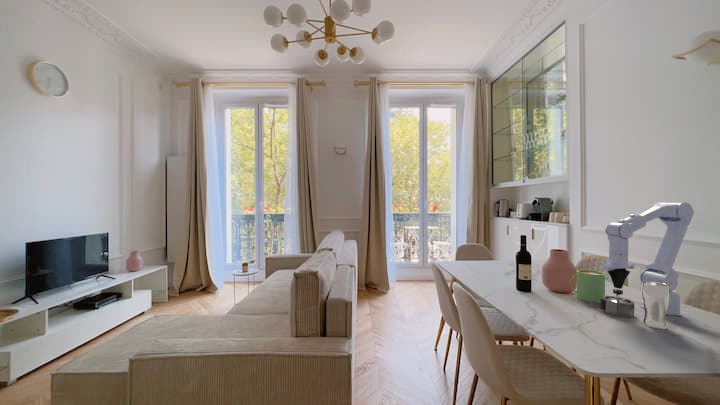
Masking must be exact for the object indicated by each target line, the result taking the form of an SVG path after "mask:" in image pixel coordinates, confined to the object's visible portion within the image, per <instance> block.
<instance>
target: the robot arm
mask: <svg viewBox="0 0 720 405" xmlns="http://www.w3.org/2000/svg"><path fill="white" fill-rule="evenodd" d="M694 214H695V211H694V209H693V207H692V205H691V204H690V203H689V202H684V201H683V202H663V201H659V202H657V203H655V204H653V205H652V207H651V208H649V209H647V210H645V211H643V212H642V213H640V214H636V213H635V214H633V213H631V214H628V216H627V217H625V218H623V219H622V218H621V219H620V220H618V221H617V222H611V223H609V224H607V225H606V228H605V229H604V231H605V234H606V236H607V240H608V242H609V245H608V246H609V247H608V250H609V252H608V262H606V263H605V264H602V265H601V271H605V272H607V273H608V275H609V276H610V278H611V281H612V286H613V287H614V289H619V290H621V289H623V287H624V284H625V282H626V279H627V278H628V276H629V275H630V272H631V271H630V270H634V269H635V267H636V266H635V263H631V262H629V239H630V238H631V237H632V236H633V234H634V233H635V232H637V231H638V230H640V229H643V228H645V227H646V226H647V223H648V222H651V221H653V220H656V219H659V220H660V222H661V223H663V224H664V225H666V227H667V228H666V231H665V234H664V236H663V238H662V241H661V244H660V246H659V249H658V251H657V254H656V256H655V259H654V262H652V263H649V264H647V265H646V266H645V267H644V269H643V271H641V273H640V274H639V280H640V282H641V283H642V284H643V282H644V281H652V282H659V283H664V284H667V285H668V288H669V303H668V308H667V311H666V315H670V316H678V317H679V316H680V317H681V316H682V314H681V296H680V294H679V292H678V291H677V290H675V289H676V288H677V287H678V277H679V274H678V272H676V270H675V269H674V268H673V267H674V264H675V262H676V259H677V257H678V254H679V252H680V249H681V246H682V243H683V241H684V238H685V237H686V233H687V230H688V228H689V226H690V224H691V221H692V218H693V217H694ZM629 269H630V270H629ZM639 306H640V307H641V308H642V309H644V306H643V304H640V305H639Z"/></svg>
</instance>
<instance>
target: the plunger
mask: <svg viewBox="0 0 720 405" xmlns="http://www.w3.org/2000/svg"><path fill="white" fill-rule="evenodd" d="M612 293H613V294H615V297H616V299H615V298H608V299H607V300H609V301H613V302H617V303H626V304H628V303H629V302H627V301H625V300H621V299H620V296H621V295H624V290H621V289H618V288H614V289H612Z"/></svg>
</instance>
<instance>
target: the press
mask: <svg viewBox="0 0 720 405" xmlns="http://www.w3.org/2000/svg"><path fill="white" fill-rule="evenodd" d="M608 298H615V299H616V296H614V295H613V296H612V295H605V297H602V299H600V303H599V308H600V309H601V311H602V312H604V313H605V314H607V315H610V316H614V317H617V318H628V319H630V318H632V317H635V302H634V301H633V300H631V299H629V298H625V297H620V299H621V300H625V301H627V302H629V303H628V304H626V303H617V302H613V301H609V300H607V299H608Z"/></svg>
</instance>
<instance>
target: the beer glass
mask: <svg viewBox="0 0 720 405" xmlns="http://www.w3.org/2000/svg"><path fill="white" fill-rule="evenodd" d="M641 301H642V305H643V306H644V308H643V311H644V318H643V321H642V324H643V325H644V326H646V327H650V328H653V329H656V330H666V329H667V322H666V315H667V314H666V311H667V308H668V303H669V288H668V285H667V284H664V283H659V282H652V281H644V282H643V283H642V287H641Z"/></svg>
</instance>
